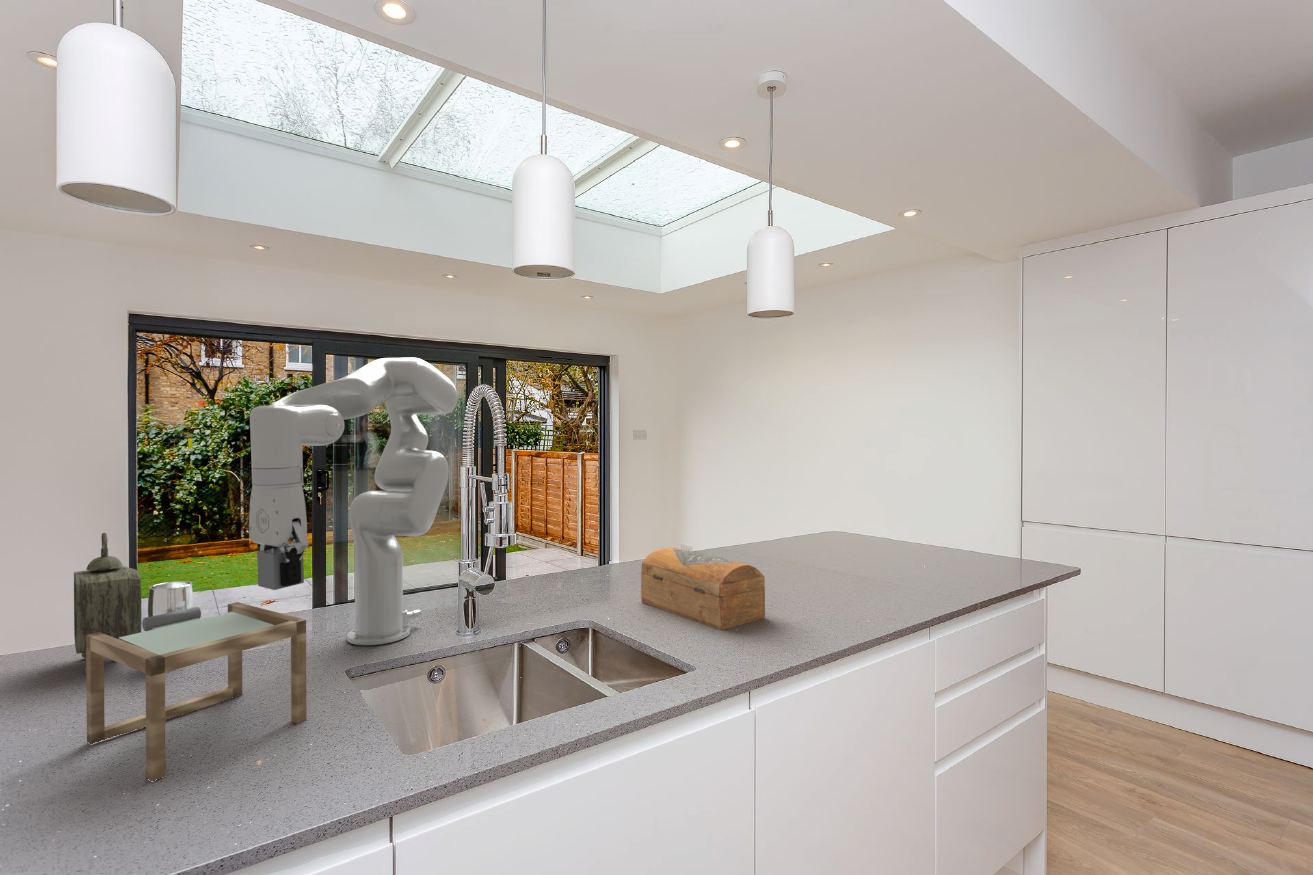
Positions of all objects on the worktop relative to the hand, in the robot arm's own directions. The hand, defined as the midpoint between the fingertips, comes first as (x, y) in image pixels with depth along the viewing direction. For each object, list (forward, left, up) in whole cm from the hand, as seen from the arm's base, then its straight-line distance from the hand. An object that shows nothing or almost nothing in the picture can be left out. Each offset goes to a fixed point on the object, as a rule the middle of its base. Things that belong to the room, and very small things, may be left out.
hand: (281, 581), depth 109 cm
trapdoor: (+15, +4, -5) cm, 16 cm away
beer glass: (+4, -31, -19) cm, 36 cm away
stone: (0, 0, -1) cm, 1 cm away
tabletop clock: (+10, -42, -19) cm, 47 cm away
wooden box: (-80, +42, -19) cm, 92 cm away
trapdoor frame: (+15, +5, -19) cm, 24 cm away
